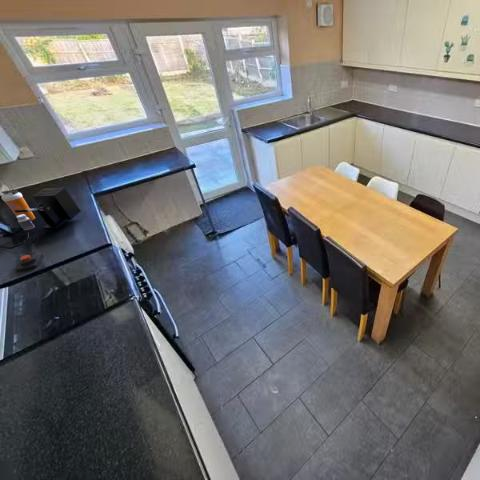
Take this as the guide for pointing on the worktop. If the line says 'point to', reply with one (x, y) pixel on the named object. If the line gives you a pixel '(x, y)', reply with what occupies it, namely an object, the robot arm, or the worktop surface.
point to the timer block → (30, 262)
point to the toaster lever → (29, 210)
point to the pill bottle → (25, 222)
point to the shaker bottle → (17, 203)
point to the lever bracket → (50, 217)
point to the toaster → (58, 202)
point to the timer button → (25, 258)
